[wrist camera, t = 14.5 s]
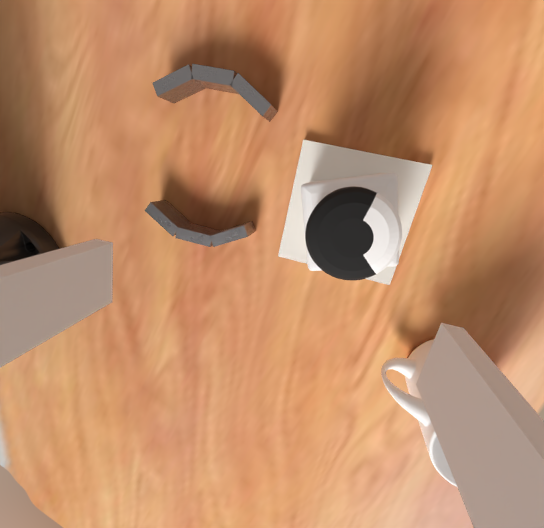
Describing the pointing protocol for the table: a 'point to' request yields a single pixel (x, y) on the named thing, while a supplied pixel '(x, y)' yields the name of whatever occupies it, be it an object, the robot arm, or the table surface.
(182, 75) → the cradle
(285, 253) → the tile
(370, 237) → the medicine bottle
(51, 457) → the table surface
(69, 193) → the table surface
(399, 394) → the mug
